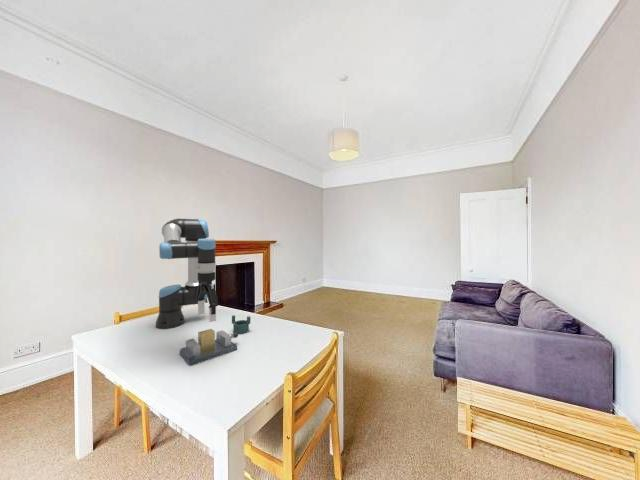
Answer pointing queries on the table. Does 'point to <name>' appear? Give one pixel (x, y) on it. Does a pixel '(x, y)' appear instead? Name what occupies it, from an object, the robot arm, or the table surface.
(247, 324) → the bracket
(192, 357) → the vise
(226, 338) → the free jaw
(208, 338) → the brass block
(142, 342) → the table surface
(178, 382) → the table surface
